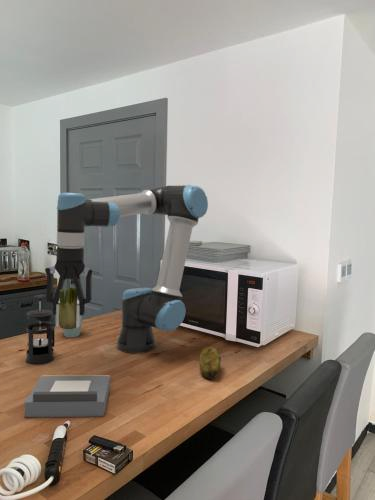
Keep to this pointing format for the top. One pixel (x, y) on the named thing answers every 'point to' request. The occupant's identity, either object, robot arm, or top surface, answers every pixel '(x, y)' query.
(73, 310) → the fennel bulb
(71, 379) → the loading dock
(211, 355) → the olive green oval lump
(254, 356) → the top surface
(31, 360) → the french press
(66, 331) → the disposable coffee cup
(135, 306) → the robot arm
